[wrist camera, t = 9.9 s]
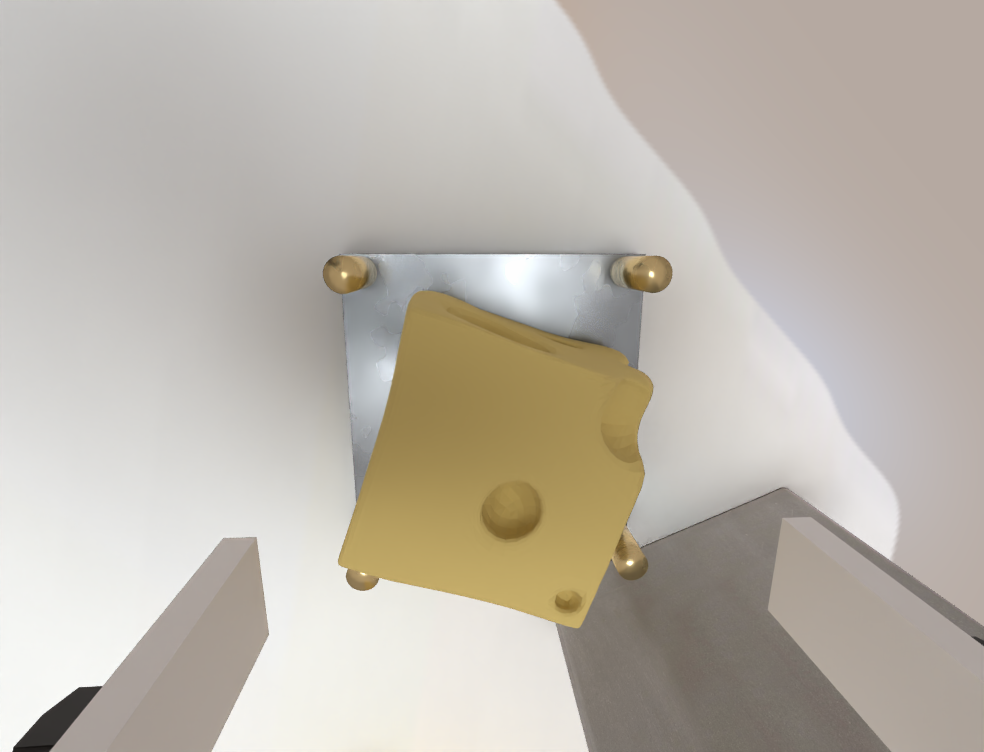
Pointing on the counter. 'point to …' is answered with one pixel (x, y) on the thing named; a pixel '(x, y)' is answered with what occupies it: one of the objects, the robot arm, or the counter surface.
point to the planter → (715, 647)
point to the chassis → (496, 289)
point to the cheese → (500, 463)
